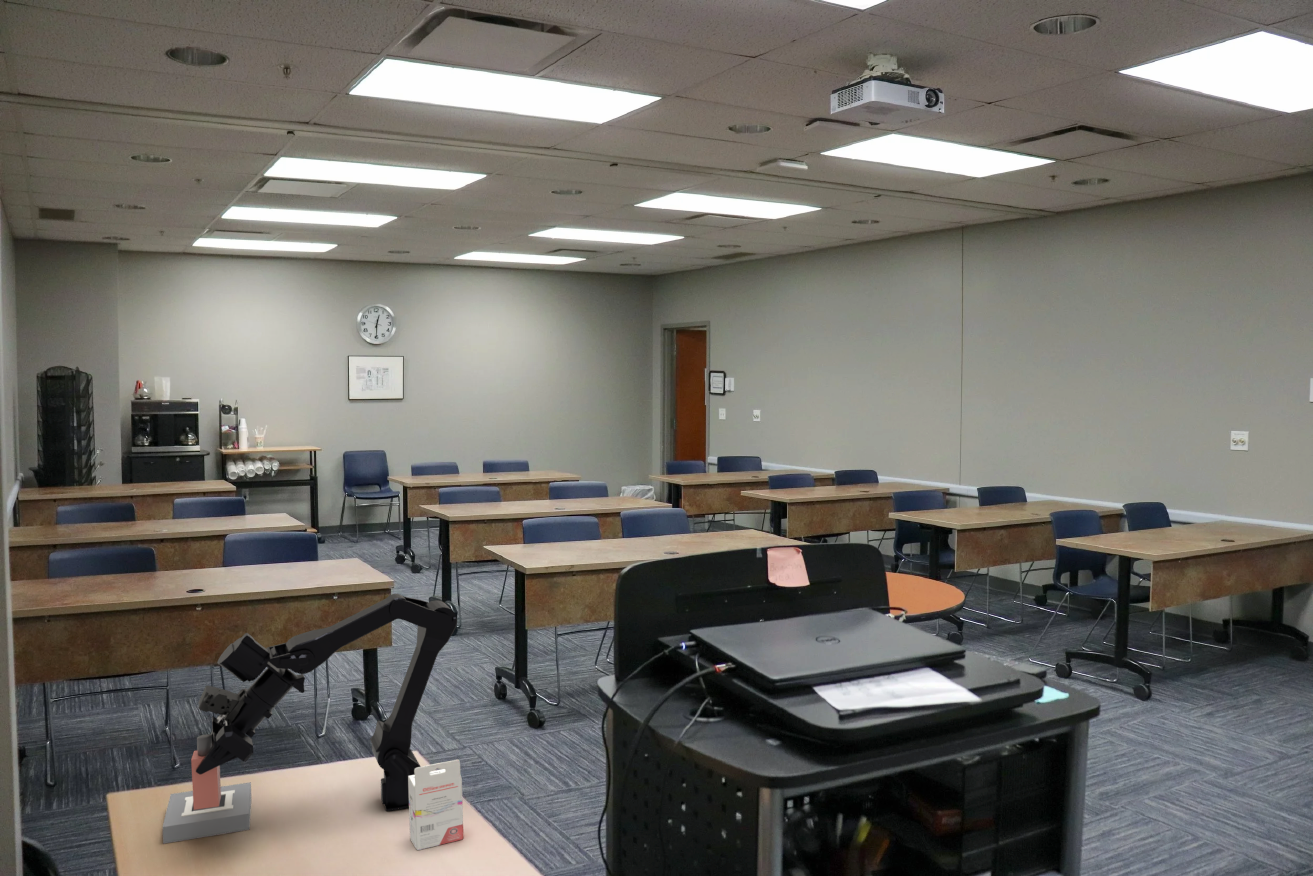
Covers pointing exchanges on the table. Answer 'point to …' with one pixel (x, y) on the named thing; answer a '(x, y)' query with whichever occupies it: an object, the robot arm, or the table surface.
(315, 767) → the table surface
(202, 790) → the plug
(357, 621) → the robot arm
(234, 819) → the socket plate
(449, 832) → the ink cartridge box
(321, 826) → the table surface
